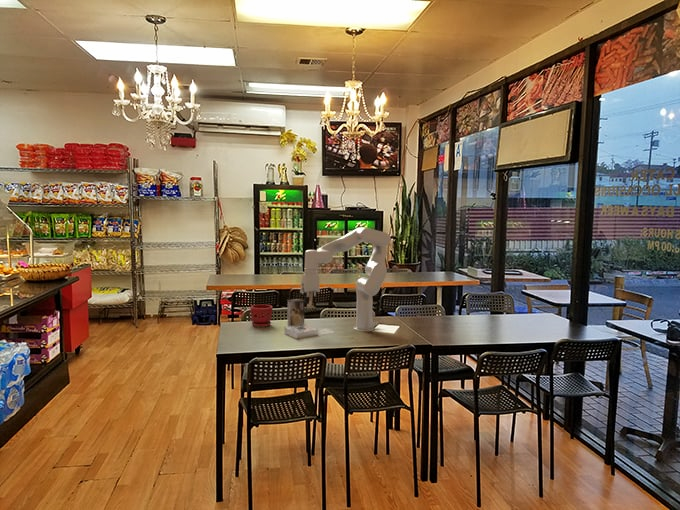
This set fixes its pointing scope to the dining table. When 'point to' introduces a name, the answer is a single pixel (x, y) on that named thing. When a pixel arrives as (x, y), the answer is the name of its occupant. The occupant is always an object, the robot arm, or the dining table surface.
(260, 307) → the plant pot
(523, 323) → the dining table surface
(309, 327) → the socket block
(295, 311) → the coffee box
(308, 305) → the peg
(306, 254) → the robot arm
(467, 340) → the dining table surface
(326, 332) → the mat
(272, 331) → the dining table surface
